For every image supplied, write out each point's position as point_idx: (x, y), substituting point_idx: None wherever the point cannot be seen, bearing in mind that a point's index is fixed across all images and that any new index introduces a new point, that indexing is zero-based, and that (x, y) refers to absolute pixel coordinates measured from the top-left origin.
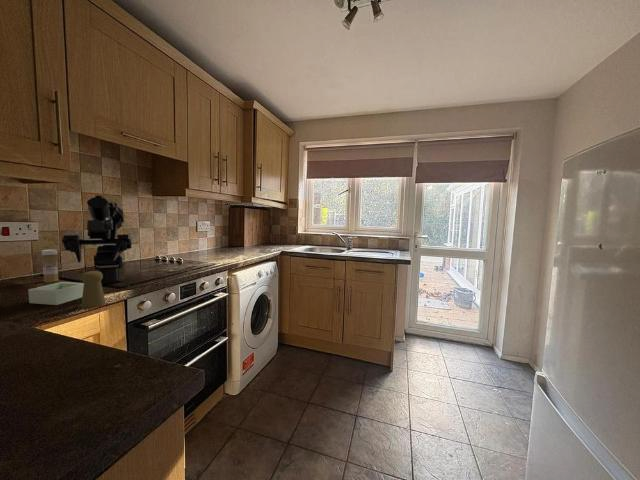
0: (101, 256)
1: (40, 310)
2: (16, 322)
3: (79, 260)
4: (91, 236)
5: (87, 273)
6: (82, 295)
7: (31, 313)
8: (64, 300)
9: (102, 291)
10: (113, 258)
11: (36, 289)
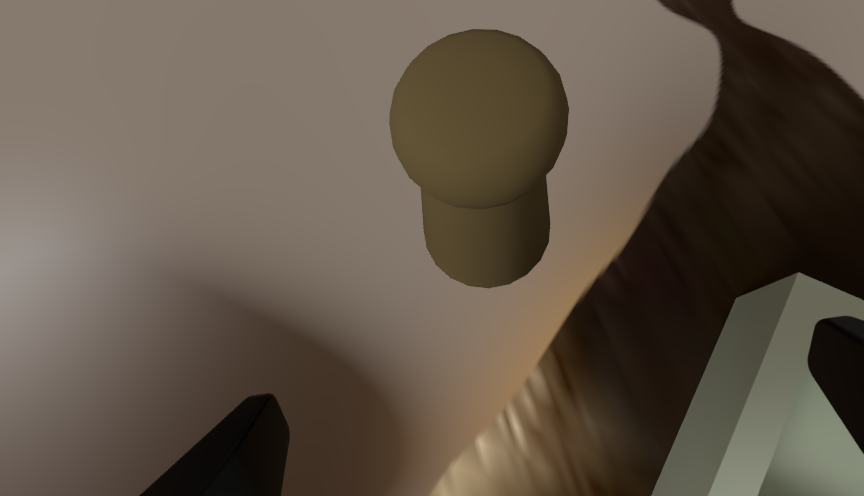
0: None
1: (765, 201)
2: (748, 31)
3: (824, 326)
4: None
5: (496, 37)
6: (662, 485)
7: (779, 155)
8: (722, 346)
9: (421, 193)
10: (252, 400)
11: None
